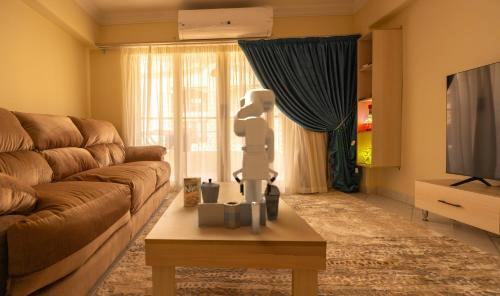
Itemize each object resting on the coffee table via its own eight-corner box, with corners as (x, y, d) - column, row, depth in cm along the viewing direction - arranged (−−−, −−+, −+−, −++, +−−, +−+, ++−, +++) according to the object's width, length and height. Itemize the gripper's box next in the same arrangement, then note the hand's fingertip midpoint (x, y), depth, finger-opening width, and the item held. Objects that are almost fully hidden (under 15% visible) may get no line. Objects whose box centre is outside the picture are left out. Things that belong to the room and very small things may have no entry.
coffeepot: (226, 218, 123) (225, 179, 122) (207, 222, 118) (206, 181, 117) (211, 211, 136) (211, 175, 135) (193, 214, 131) (193, 177, 130)
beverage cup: (276, 222, 117) (276, 176, 116) (261, 220, 120) (261, 175, 119) (282, 218, 123) (282, 174, 122) (268, 216, 127) (268, 173, 126)
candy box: (183, 206, 146) (183, 178, 146) (185, 204, 150) (185, 176, 150) (199, 206, 146) (199, 178, 145) (201, 204, 150) (201, 177, 149)
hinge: (197, 229, 109) (196, 205, 108) (199, 224, 115) (199, 201, 115) (266, 228, 110) (266, 204, 109) (265, 223, 116) (265, 201, 116)
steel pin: (254, 231, 106) (254, 201, 105) (261, 233, 104) (261, 202, 104) (250, 233, 103) (250, 202, 103) (256, 235, 102) (256, 203, 101)
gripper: (232, 150, 98) (232, 196, 99) (279, 149, 99) (279, 196, 99) (232, 149, 106) (233, 193, 106) (276, 149, 106) (276, 192, 107)
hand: (255, 194), depth 103 cm, fingers open, 9 cm apart
